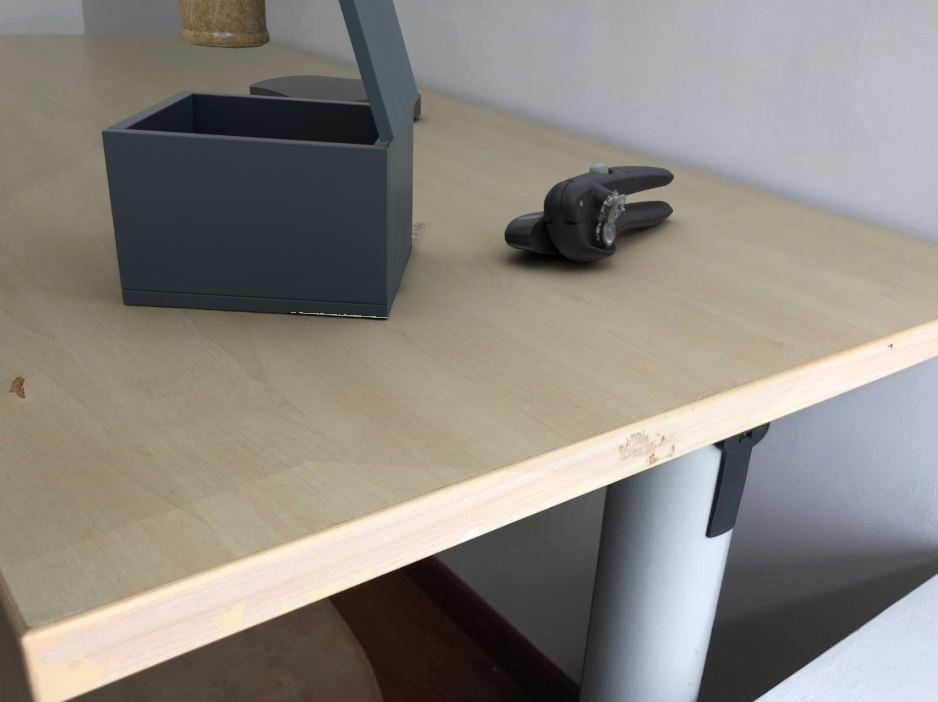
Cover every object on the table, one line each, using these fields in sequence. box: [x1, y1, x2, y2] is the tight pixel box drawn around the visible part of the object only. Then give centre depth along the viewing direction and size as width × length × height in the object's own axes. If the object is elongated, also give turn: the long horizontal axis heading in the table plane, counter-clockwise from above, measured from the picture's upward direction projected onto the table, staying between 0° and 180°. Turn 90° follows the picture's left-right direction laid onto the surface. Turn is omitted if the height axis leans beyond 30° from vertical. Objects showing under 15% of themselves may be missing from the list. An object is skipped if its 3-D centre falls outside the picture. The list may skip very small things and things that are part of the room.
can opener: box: [504, 162, 675, 263], centre depth 66 cm, size 18×7×6 cm, turn 147°
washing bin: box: [101, 89, 415, 318], centre depth 55 cm, size 14×13×9 cm
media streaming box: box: [249, 74, 422, 119], centre depth 101 cm, size 15×15×3 cm
